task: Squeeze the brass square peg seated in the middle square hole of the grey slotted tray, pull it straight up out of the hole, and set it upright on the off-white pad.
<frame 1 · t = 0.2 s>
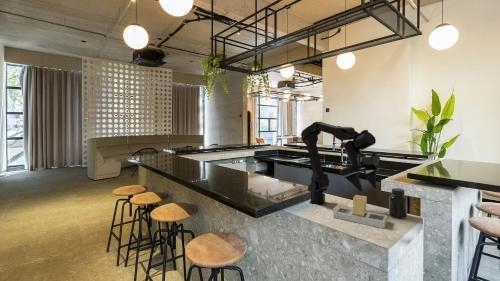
hand: (368, 189, 99), 15 cm above the countertop, tool tilted 30°, fingers open, 9 cm apart
brass peg: (359, 208, 105), in the grey slotted tray
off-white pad: (346, 208, 118), on the countertop
supplement bottle: (397, 216, 108), on the countertop
grey slotted tray: (359, 219, 105), on the countertop
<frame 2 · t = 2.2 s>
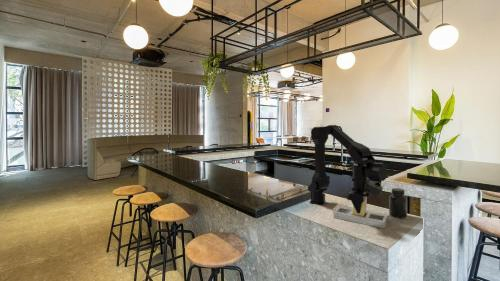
hand: (359, 211, 105), 4 cm above the countertop, tool pointing down, fingers closed on brass peg, 4 cm apart
brass peg: (359, 208, 105), in the grey slotted tray, touching gripper
everything else where it was.
when the fingers open (5 cm above the countertop, at t = 7.0 s): brass peg stays where it is, resting on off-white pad.
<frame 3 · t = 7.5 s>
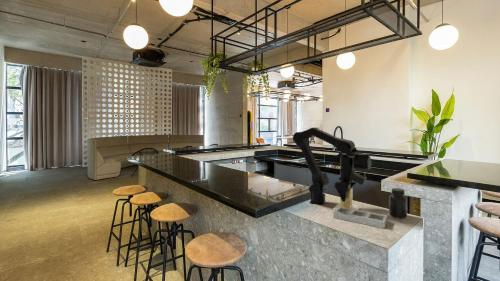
hand: (346, 198, 117), 5 cm above the countertop, tool pointing down, fingers open, 9 cm apart
brass peg: (346, 197, 117), on the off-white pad
everything else where it was.
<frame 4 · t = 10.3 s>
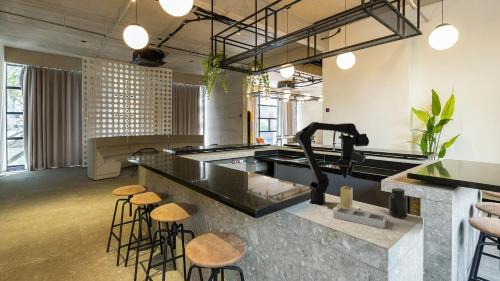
hand: (347, 176, 129), 13 cm above the countertop, tool pointing down, fingers open, 9 cm apart
nothing on the countertop moved.
at the end: brass peg 0.0 cm off-centre on the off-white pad, point 5.5 cm above the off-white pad's base; brass peg tilted 0°; the gripper is holding nothing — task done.
